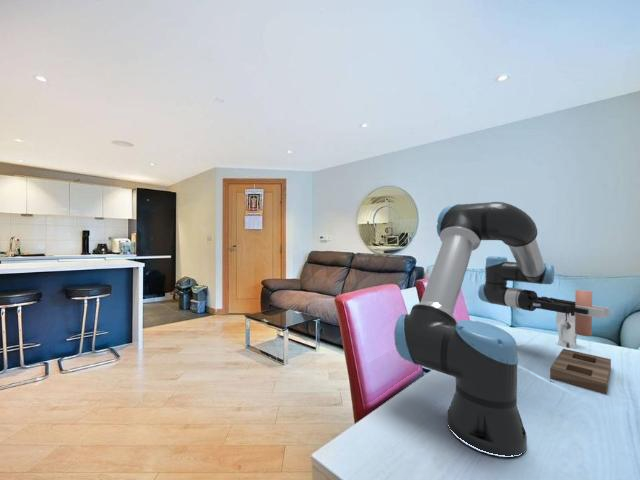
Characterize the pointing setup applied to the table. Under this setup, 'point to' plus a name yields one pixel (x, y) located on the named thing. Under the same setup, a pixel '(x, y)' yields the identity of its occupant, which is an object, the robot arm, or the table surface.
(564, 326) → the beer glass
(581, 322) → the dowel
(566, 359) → the hole board
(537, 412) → the table surface
